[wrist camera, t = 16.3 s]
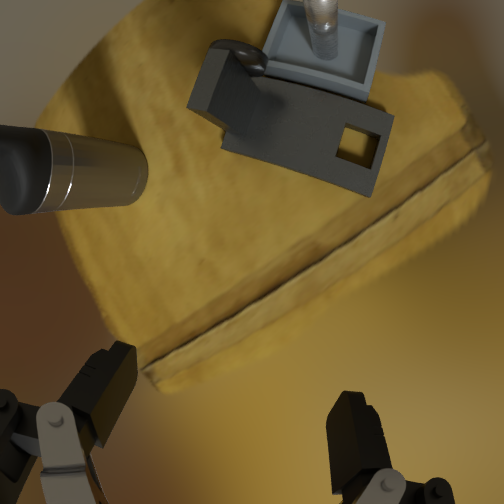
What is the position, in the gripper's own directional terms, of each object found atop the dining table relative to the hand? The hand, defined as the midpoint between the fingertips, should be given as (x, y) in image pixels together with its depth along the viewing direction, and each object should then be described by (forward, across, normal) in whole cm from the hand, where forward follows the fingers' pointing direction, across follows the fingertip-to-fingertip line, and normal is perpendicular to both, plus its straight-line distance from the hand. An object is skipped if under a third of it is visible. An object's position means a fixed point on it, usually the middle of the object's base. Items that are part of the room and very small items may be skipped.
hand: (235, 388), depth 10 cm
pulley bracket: (+28, -3, -11) cm, 30 cm away
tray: (+30, -3, -22) cm, 37 cm away
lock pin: (+29, -3, -22) cm, 37 cm away
